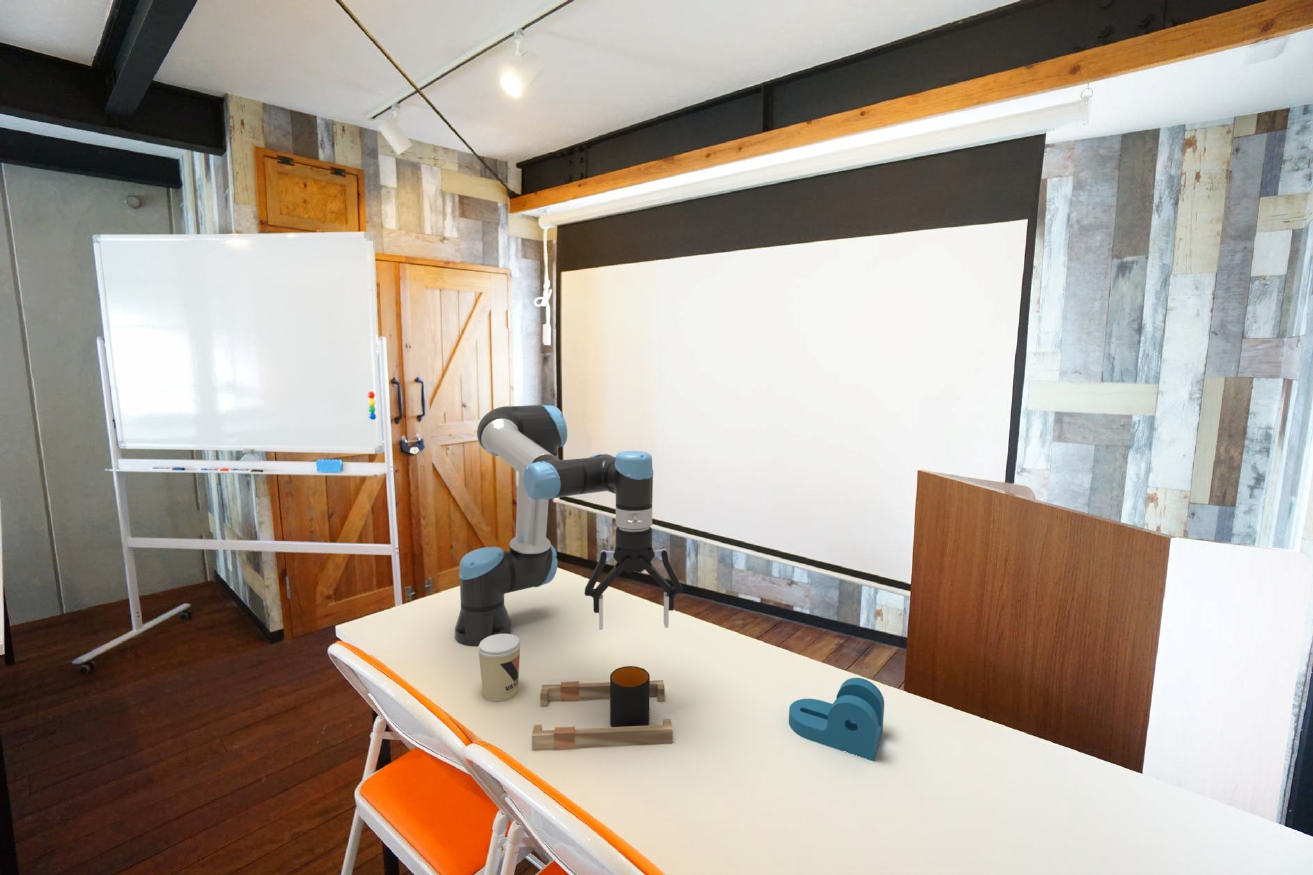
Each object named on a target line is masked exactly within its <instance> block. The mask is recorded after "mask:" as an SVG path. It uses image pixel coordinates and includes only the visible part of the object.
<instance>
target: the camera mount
mask: <svg viewBox="0 0 1313 875" xmlns="http://www.w3.org/2000/svg"><path fill="white" fill-rule="evenodd" d="M788 708H789V710H788V725H789V727H790V729H791V730H792V732H794V733H795V734H796V735H798V736H799V737H801V738H803V739H805V740H808V741H811V742H815V743H817V744H821V745H823V746H826V747H828V748H832V749H836V750H838V751H842V752H844V751H846V752H845V753H847V752H848V754H850V755H853V754H854V755H853V756H856V755H857V757H859V756H860V757H859V758H861V759H865V758H866V759H865V760H868V761H871V762H875V759H876V756H877V752H878V749H879V746H880V743H879V742H880V741H881V740H882V736H883V732H884V718H885V716H884V715H885V700H884V696H883V694H882V692H881V690H880V689H879V688H878V687H877V686H876V684H874V683H873V682H872V681H869V680H868V679H866V678H861V677H851V678H849V679H846V680H844V682H843V683H842V684H841V686H840V688H839V689H838V692H837V694H836V699H834V701H833V703H831V702H827V701H824V700H821V699H818V698H817V699H816V698H801V699H797V700H795V701H793V702H791V704H789V707H788Z"/></svg>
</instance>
